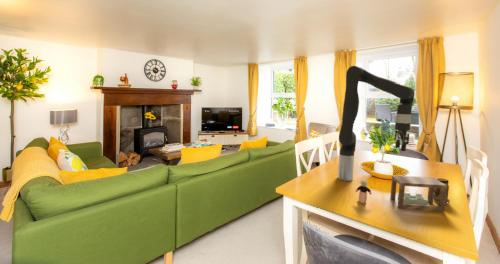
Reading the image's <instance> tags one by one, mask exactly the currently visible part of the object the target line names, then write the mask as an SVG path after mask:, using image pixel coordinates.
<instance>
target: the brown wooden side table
mask: <svg viewBox="0 0 500 264" xmlns="http://www.w3.org/2000/svg"><path fill="white" fill-rule="evenodd" d="M437 179H438V178H436V177H431V176H429V177H428V176H411V175H410V176H408V175H407V176H406V175H391V185H390V186H391V187H390V197H389V198H390V201H393V202H395V201H396V195H397V208H398V209H399V210H412V211H424V212H425V211H427V212H436V211H437V212H438V213H445V206H446V204H445V198H446V189H447V185H445V184H444V183H442V182H440V181H439V180H437ZM397 184H398V194H399V195H398V194H397ZM405 187H419V188H428V189H427V190H428V191H427V200H428V205H418V204H404V203H403V202H404V192H405V191H406V190H405ZM434 188H440V194H439V203H438V202H437V203H438V204H437V205H430V204H434V201H433V197H434Z"/></svg>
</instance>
